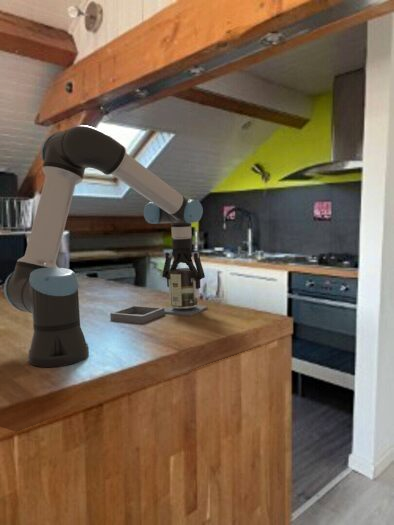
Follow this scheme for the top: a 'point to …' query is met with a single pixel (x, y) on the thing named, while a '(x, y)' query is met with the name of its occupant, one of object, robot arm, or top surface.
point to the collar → (128, 317)
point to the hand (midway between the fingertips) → (183, 296)
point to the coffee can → (182, 288)
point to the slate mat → (185, 310)
